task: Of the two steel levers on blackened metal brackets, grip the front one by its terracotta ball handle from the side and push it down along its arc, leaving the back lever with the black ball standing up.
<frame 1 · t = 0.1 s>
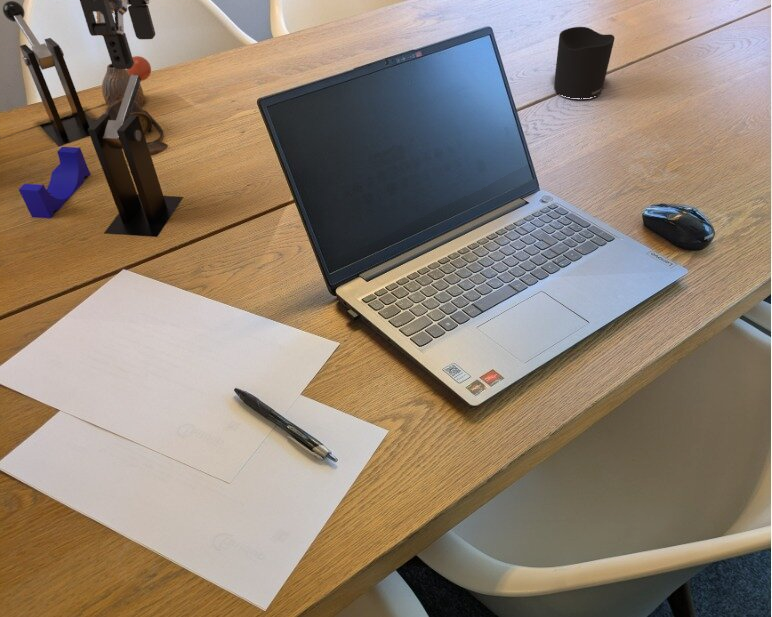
hand: (135, 52, 77), 26 cm above the table, tool pointing down, fingers open, 8 cm apart
blue curved cradle: (61, 202, 101), on the table
vase: (129, 112, 123), on the table
back lever: (28, 33, 108), point 16 cm above the table, hinge at 25.0°
front lever: (128, 100, 89), point 16 cm above the table, hinge at 25.0°
pen holder: (577, 91, 123), on the table
front bracket: (147, 221, 96), on the table
back bracket: (74, 134, 117), on the table
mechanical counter: (139, 147, 113), on the table
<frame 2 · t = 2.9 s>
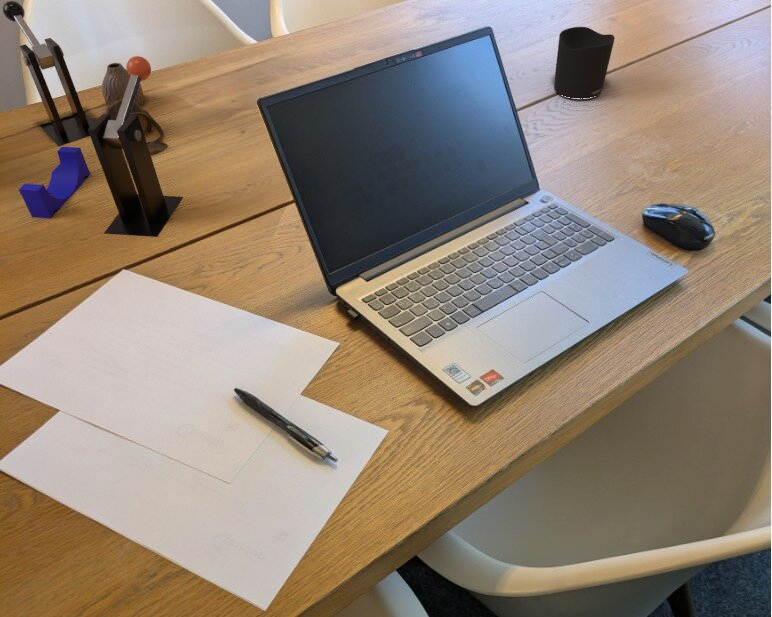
nothing on the table moved.
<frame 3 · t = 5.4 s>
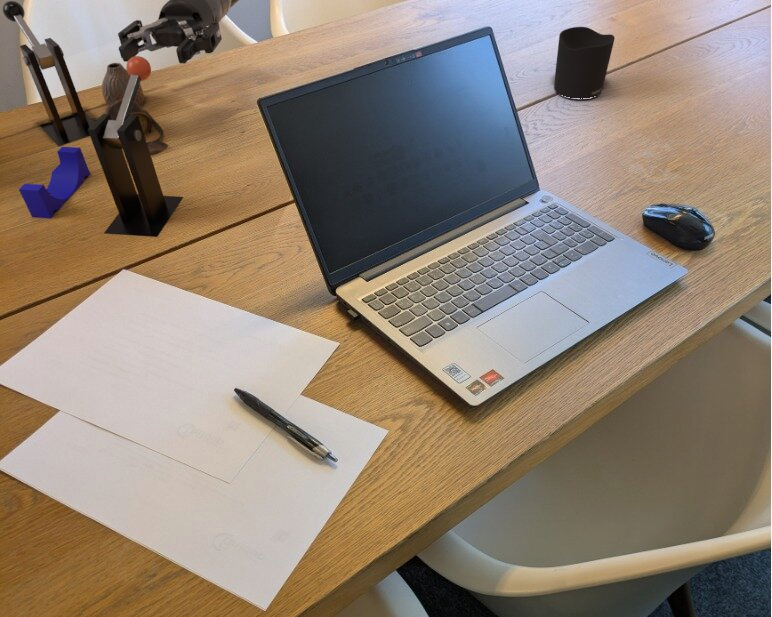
hand: (151, 56, 94), 19 cm above the table, tool horizontal, fingers open, 8 cm apart
nothing on the table moved.
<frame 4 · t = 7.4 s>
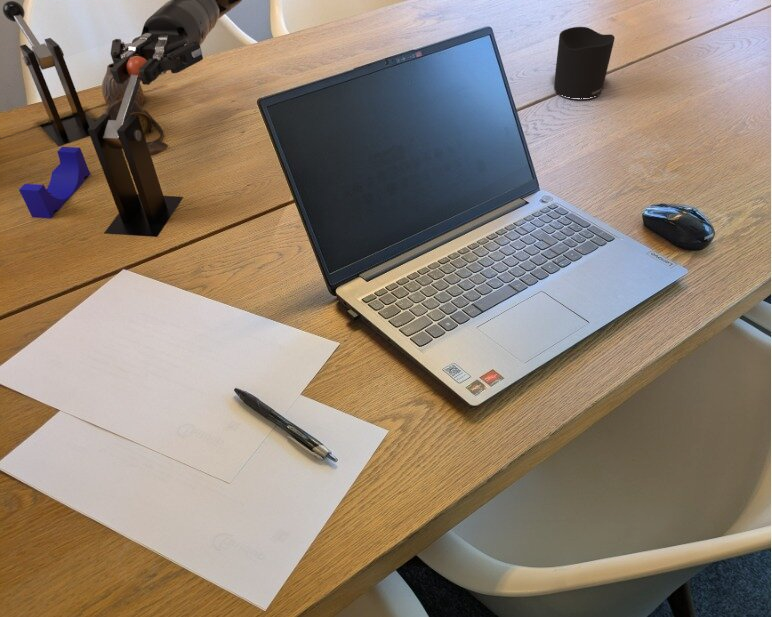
hand: (130, 77, 89), 19 cm above the table, tool horizontal, fingers closed on front lever, 3 cm apart
front lever: (128, 100, 89), point 16 cm above the table, hinge at 25.0°, touching gripper
everything else where it was.
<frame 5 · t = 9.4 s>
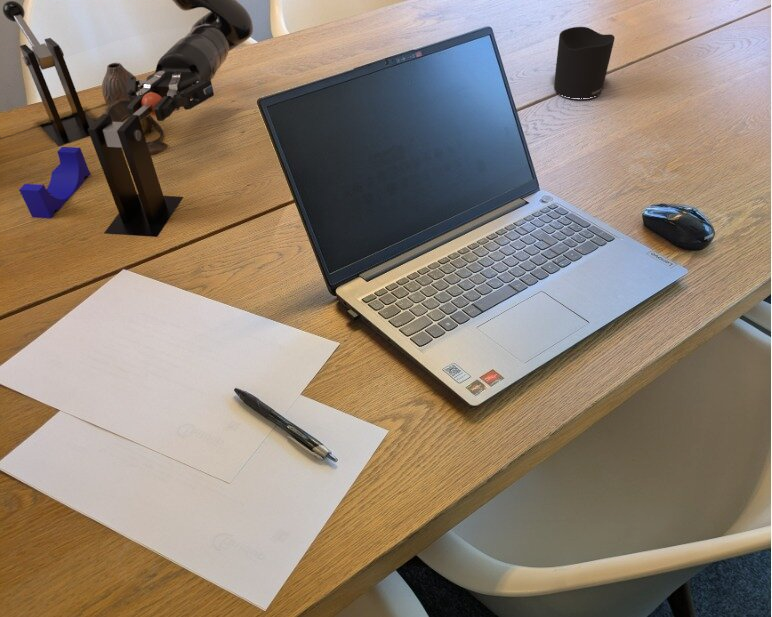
hand: (145, 114, 93), 13 cm above the table, tool horizontal, fingers closed on front lever, 3 cm apart
front lever: (136, 118, 91), point 13 cm above the table, hinge at -5.4°, touching gripper
everything else where it was.
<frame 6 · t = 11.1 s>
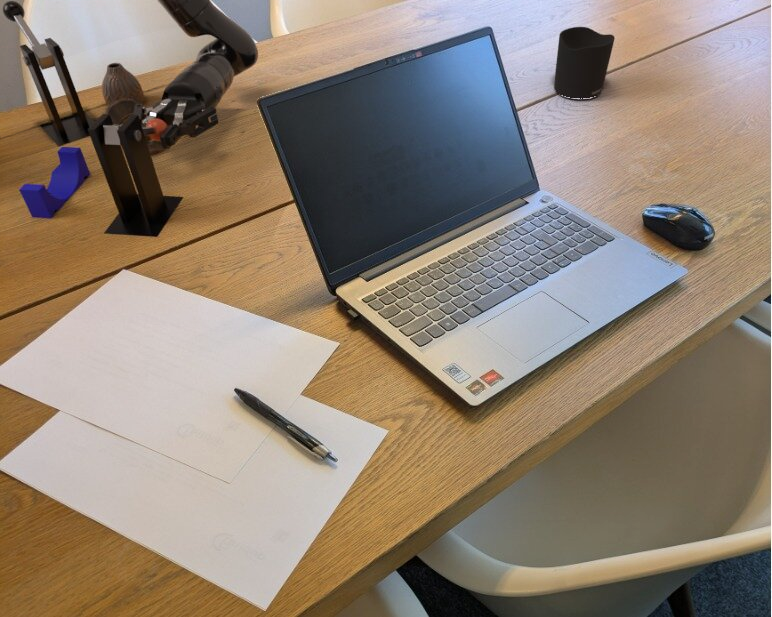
hand: (151, 142, 96), 9 cm above the table, tool horizontal, fingers open, 3 cm apart
front lever: (138, 132, 92), point 12 cm above the table, hinge at -24.6°
everything else where it was.
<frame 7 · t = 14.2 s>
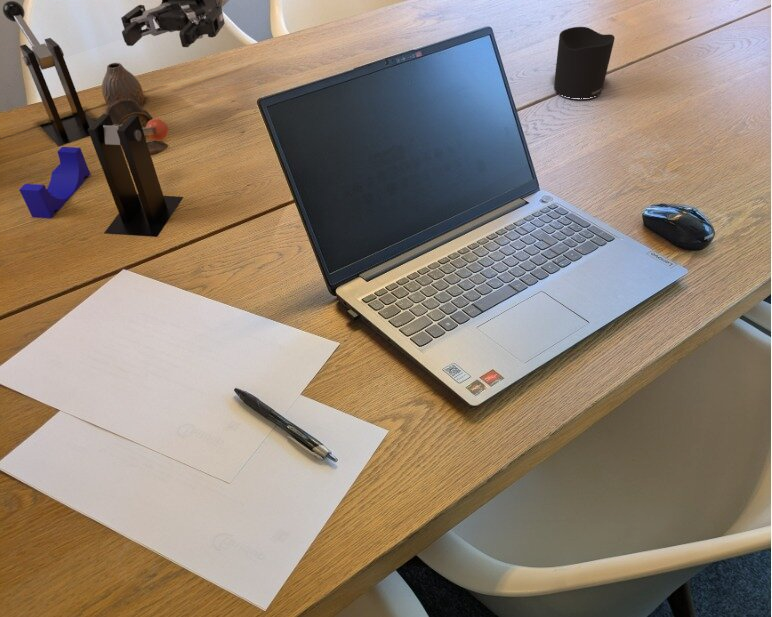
hand: (154, 39, 94), 20 cm above the table, tool horizontal, fingers open, 8 cm apart
nothing on the table moved.
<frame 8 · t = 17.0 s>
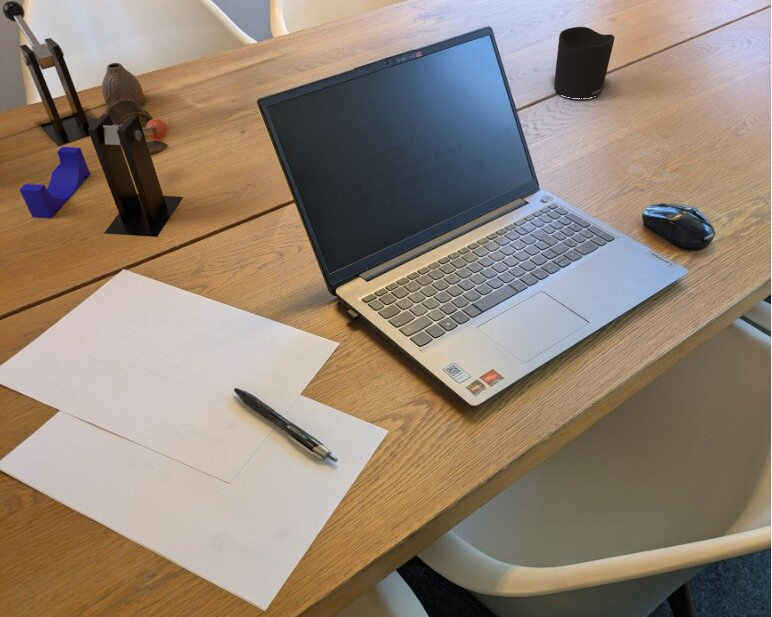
nothing on the table moved.
at the end: front lever at -25° (first picture: +25°); back lever at +25° (first picture: +25°) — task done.
